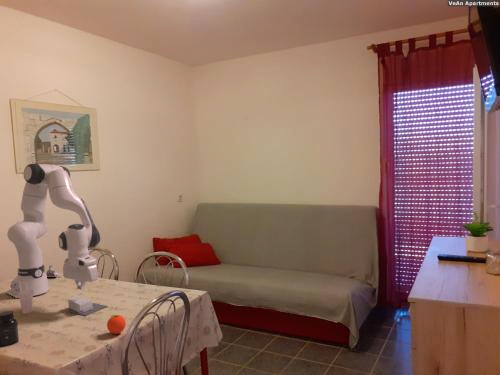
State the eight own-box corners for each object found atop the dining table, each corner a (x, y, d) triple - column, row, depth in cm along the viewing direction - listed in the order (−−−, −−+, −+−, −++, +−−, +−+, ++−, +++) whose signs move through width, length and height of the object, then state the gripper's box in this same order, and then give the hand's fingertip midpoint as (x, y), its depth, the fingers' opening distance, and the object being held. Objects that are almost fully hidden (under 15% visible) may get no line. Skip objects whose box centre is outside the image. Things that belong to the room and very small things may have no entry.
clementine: (103, 332, 153) (102, 315, 152) (120, 327, 158) (118, 309, 157) (112, 338, 147) (111, 320, 147) (129, 332, 152) (128, 314, 152)
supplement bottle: (-6, 350, 142) (-8, 317, 141) (1, 342, 148) (-2, 311, 148) (15, 346, 144) (13, 315, 143) (21, 339, 150) (18, 308, 150)
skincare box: (80, 295, 186) (92, 299, 178) (80, 304, 186) (93, 309, 178) (67, 299, 181) (79, 303, 173) (68, 308, 181) (80, 313, 173)
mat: (66, 311, 178) (66, 310, 178) (89, 303, 188) (88, 302, 188) (85, 316, 171) (85, 315, 171) (107, 306, 182) (107, 305, 182)
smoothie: (38, 310, 181) (36, 280, 180) (26, 315, 175) (24, 285, 174) (28, 309, 183) (25, 280, 182) (15, 314, 177) (13, 284, 176)
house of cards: (66, 274, 245) (65, 262, 245) (57, 278, 237) (56, 265, 236) (53, 274, 247) (52, 262, 246) (43, 278, 238) (42, 265, 238)
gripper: (58, 259, 182) (60, 288, 183) (87, 263, 172) (89, 293, 173) (70, 256, 188) (72, 284, 189) (99, 259, 178) (101, 289, 179)
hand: (81, 289), depth 181 cm, fingers closed
